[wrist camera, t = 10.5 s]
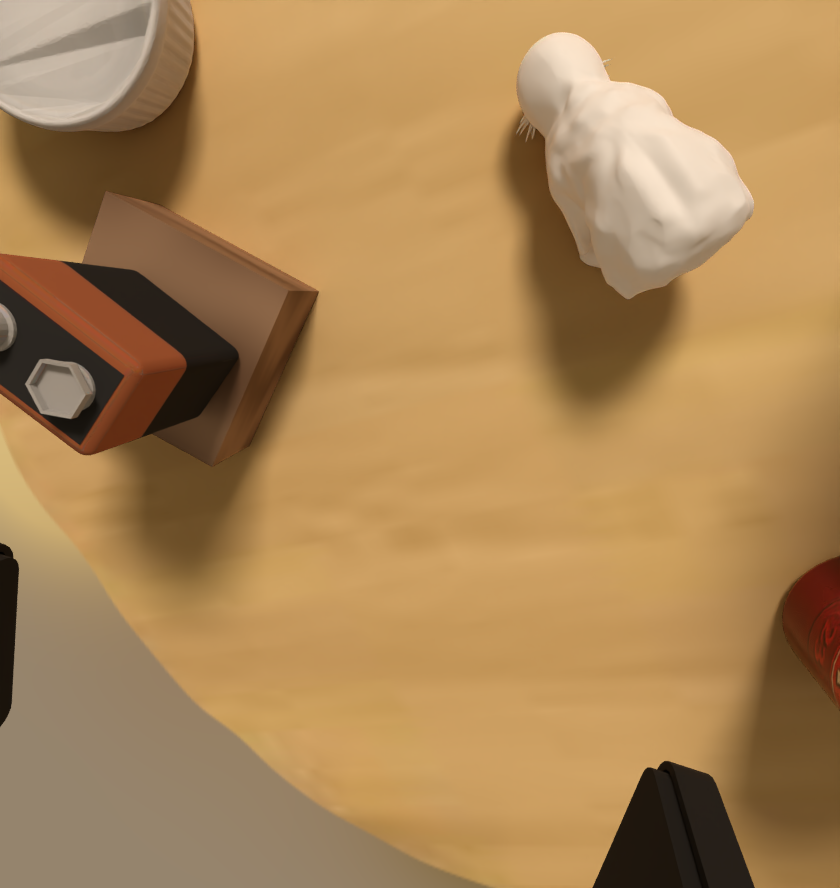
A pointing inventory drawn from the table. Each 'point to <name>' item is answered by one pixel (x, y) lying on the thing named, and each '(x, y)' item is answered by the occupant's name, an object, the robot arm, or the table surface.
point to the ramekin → (93, 61)
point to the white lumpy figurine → (627, 169)
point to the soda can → (817, 624)
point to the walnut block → (210, 311)
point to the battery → (102, 352)
